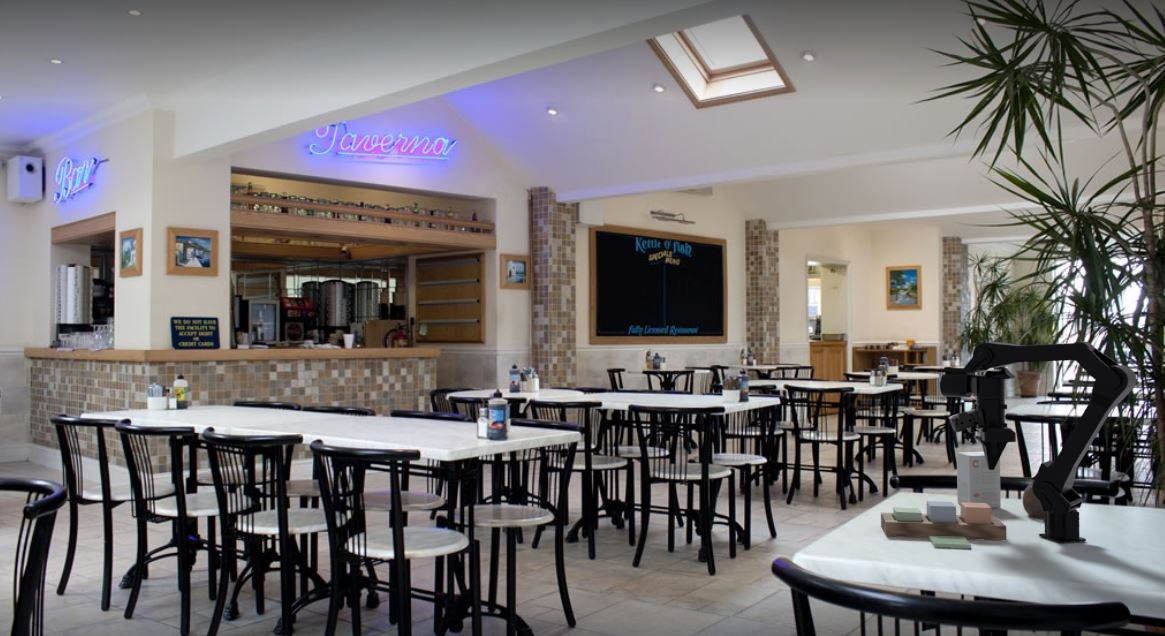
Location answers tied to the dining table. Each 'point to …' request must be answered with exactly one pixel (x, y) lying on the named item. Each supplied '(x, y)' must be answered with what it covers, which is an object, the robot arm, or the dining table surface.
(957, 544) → the sage tile
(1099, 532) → the dining table surface
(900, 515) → the sage button
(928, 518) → the slate button
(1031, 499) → the vase
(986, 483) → the small box
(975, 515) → the terracotta button
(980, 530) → the walnut panel
